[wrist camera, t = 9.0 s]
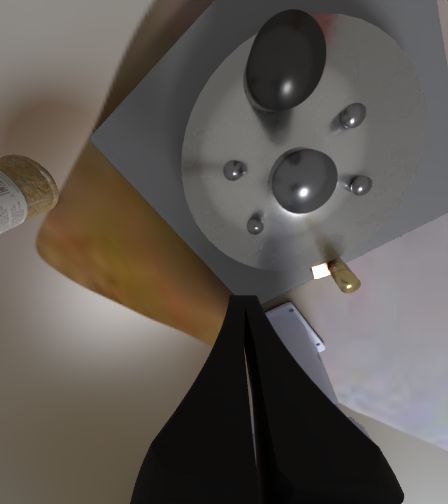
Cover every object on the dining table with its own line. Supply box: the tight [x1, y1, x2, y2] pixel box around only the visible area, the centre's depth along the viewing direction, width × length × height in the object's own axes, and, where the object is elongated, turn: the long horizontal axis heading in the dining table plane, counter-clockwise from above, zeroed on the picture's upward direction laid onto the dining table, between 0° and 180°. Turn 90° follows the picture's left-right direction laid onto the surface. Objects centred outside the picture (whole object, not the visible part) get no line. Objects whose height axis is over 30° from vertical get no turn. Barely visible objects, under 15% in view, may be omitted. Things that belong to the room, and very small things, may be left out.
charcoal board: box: [89, 0, 448, 305], centre depth 16 cm, size 20×20×1 cm
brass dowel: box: [327, 257, 361, 293], centre depth 17 cm, size 1×1×4 cm
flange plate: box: [181, 9, 426, 279], centre depth 13 cm, size 16×15×5 cm
